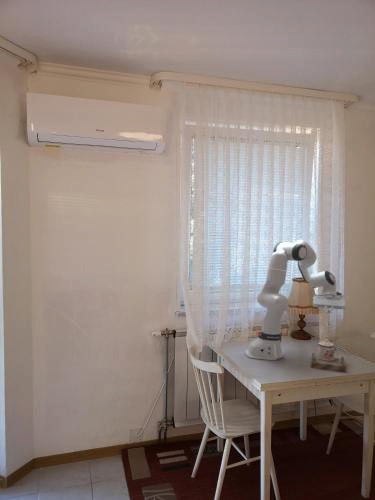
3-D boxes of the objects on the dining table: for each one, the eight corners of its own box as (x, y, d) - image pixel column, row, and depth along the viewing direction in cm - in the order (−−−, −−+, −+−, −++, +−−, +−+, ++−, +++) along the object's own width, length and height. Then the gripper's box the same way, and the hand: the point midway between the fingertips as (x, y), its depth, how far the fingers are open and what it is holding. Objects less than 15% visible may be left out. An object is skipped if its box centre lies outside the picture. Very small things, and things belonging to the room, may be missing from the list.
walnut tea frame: (311, 367, 201) (311, 362, 201) (312, 357, 218) (312, 352, 218) (345, 372, 195) (345, 366, 195) (343, 361, 212) (343, 356, 212)
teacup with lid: (325, 362, 211) (326, 342, 211) (314, 357, 219) (315, 338, 219) (341, 359, 216) (341, 340, 215) (329, 355, 224) (330, 336, 224)
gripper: (312, 291, 244) (311, 308, 236) (345, 293, 237) (346, 311, 228) (312, 297, 249) (311, 314, 240) (345, 299, 241) (345, 317, 233)
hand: (328, 312), depth 234 cm, fingers closed
